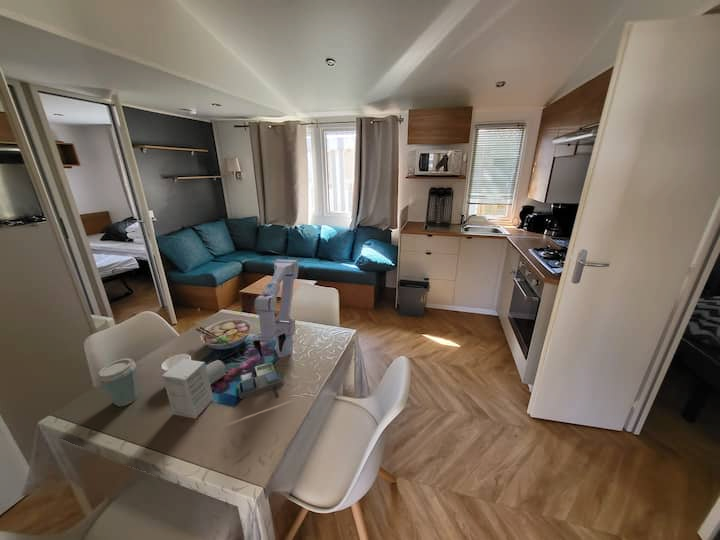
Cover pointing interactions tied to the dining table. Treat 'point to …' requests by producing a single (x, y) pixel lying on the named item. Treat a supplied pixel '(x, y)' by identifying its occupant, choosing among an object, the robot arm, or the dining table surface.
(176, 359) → the cup
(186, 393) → the supplement box
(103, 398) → the dining table surface
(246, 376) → the plug
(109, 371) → the disposable coffee cup
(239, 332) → the ramen bowl
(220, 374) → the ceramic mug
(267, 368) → the tray
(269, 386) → the grey busybox board
